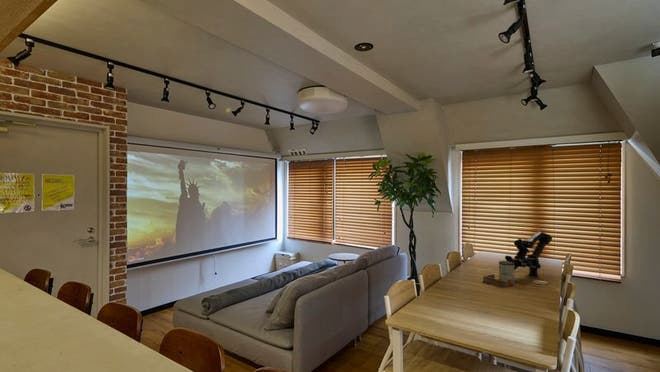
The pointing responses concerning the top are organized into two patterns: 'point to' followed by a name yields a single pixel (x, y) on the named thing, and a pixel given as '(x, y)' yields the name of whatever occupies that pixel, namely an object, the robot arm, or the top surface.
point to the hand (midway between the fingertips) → (513, 269)
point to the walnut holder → (497, 281)
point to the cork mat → (539, 282)
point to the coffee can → (506, 270)
